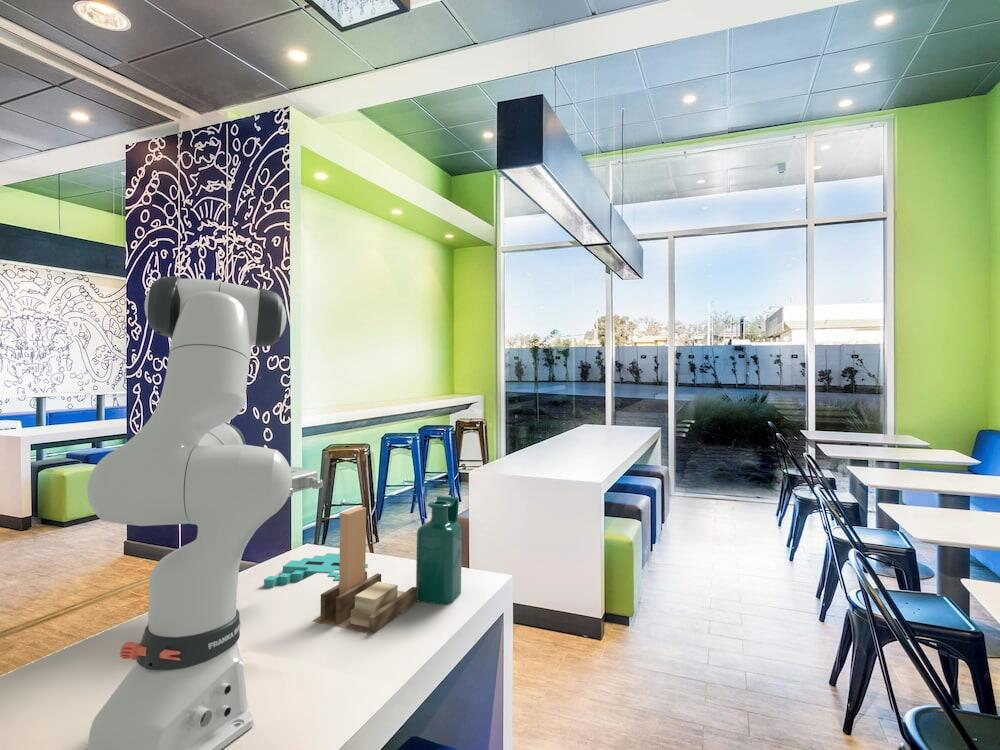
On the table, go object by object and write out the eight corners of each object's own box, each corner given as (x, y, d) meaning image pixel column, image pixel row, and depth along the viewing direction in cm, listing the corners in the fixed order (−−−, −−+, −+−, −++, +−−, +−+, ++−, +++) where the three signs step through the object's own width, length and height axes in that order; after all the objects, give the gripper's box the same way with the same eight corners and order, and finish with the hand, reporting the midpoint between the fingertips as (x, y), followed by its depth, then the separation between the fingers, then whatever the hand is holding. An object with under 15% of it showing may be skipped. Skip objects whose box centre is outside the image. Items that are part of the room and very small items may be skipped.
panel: (347, 614, 111) (348, 514, 111) (338, 613, 112) (340, 513, 112) (364, 603, 117) (366, 507, 117) (356, 601, 117) (358, 506, 117)
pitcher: (450, 612, 116) (451, 507, 116) (412, 607, 118) (413, 504, 118) (465, 594, 126) (466, 497, 126) (430, 590, 128) (431, 494, 128)
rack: (373, 642, 103) (373, 607, 103) (311, 628, 108) (312, 595, 108) (416, 608, 118) (417, 577, 118) (360, 598, 123) (361, 568, 123)
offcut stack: (372, 628, 105) (372, 601, 105) (350, 623, 107) (350, 597, 107) (405, 604, 116) (405, 580, 116) (385, 600, 118) (385, 576, 118)
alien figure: (347, 593, 127) (376, 563, 147) (348, 583, 127) (376, 555, 147) (264, 589, 129) (303, 560, 148) (264, 579, 129) (303, 552, 148)
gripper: (216, 476, 114) (269, 482, 109) (288, 462, 133) (336, 466, 128) (216, 507, 114) (269, 514, 109) (288, 488, 133) (335, 493, 128)
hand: (306, 488), depth 119 cm, fingers open, 8 cm apart
